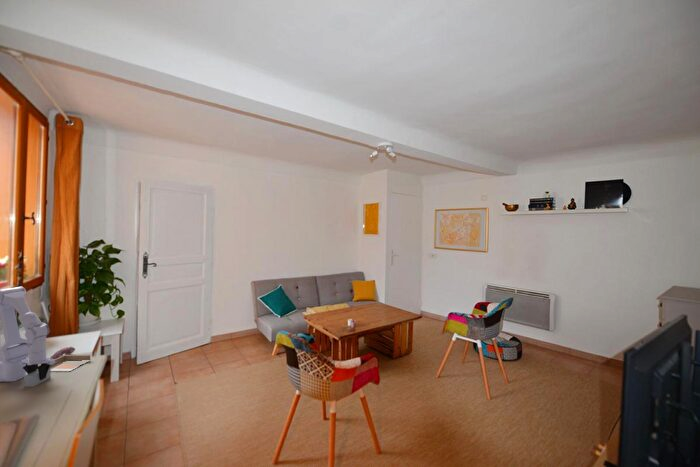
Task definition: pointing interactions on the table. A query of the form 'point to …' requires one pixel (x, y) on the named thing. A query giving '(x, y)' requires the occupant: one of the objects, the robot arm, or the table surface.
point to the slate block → (34, 378)
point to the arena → (62, 367)
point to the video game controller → (63, 352)
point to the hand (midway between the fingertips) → (38, 379)
